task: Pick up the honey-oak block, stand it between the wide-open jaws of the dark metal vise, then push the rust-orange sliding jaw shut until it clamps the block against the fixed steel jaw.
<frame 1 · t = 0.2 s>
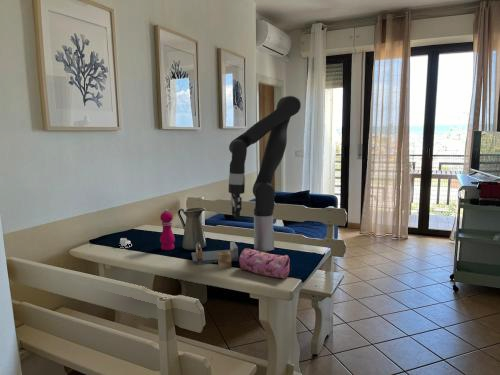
hand: (235, 216, 174), 17 cm above the table, tool pointing down, fingers open, 8 cm apart
pencil case: (264, 273, 150), on the table
sliding jaw: (199, 250, 166), point 4 cm above the table, slide at 0.0 cm
vise base: (214, 258, 168), on the table
white looped part: (130, 246, 189), on the table
oak block: (224, 266, 158), on the table
pepper mill: (167, 248, 183), on the table
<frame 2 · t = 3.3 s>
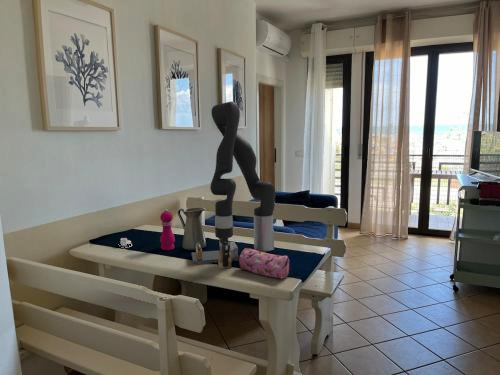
hand: (224, 263, 158), 1 cm above the table, tool pointing down, fingers closed on oak block, 5 cm apart
oak block: (224, 266, 158), on the table, touching gripper
everything else where it was.
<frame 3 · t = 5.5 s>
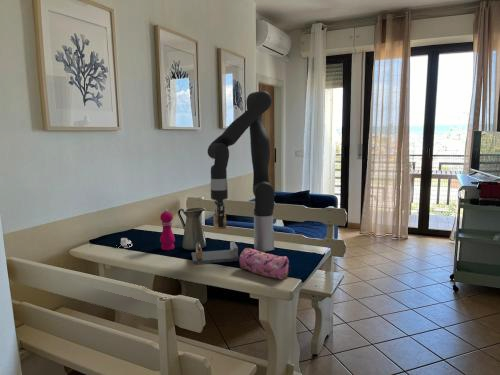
hand: (220, 225, 166), 15 cm above the table, tool pointing down, fingers closed on oak block, 5 cm apart
oak block: (219, 227, 166), point 14 cm above the table, touching gripper
everything else where it was.
when the fingers open (4 cm above the table, at t = 7.7 s): oak block drops 1 cm, resting on vise base.
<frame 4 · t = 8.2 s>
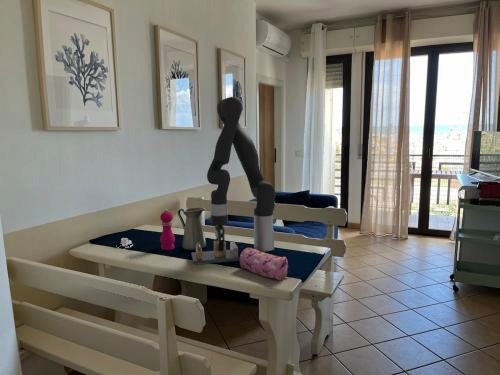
hand: (219, 248, 168), 5 cm above the table, tool pointing down, fingers open, 8 cm apart
oak block: (219, 254, 168), point 1 cm above the table, touching vise base
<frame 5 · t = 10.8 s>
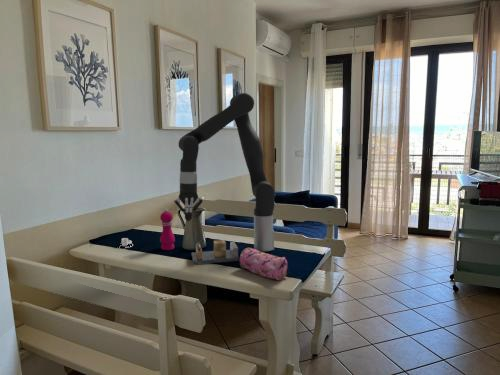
hand: (188, 220, 164), 18 cm above the table, tool pointing down, fingers closed
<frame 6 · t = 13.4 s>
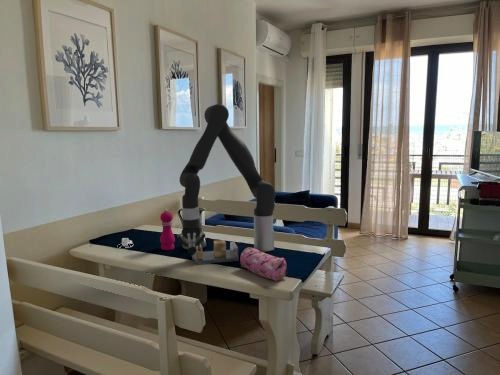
hand: (192, 254, 166), 2 cm above the table, tool pointing down, fingers closed
sliding jaw: (199, 250, 166), point 4 cm above the table, slide at 0.2 cm, touching gripper
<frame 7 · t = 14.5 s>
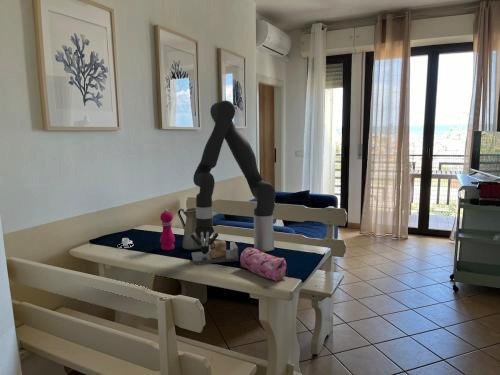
hand: (204, 253, 167), 2 cm above the table, tool pointing down, fingers closed
sliding jaw: (212, 249, 167), point 4 cm above the table, slide at 6.0 cm, touching gripper, oak block
oak block: (220, 254, 168), point 1 cm above the table, touching sliding jaw, vise base
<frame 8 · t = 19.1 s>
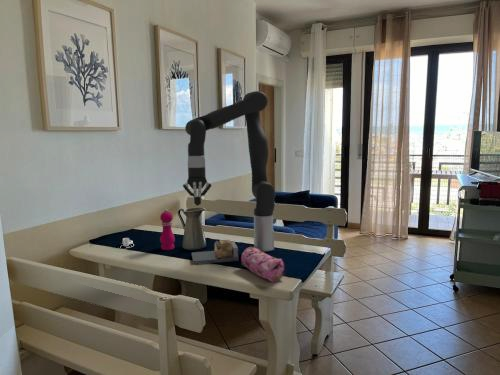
hand: (197, 205, 163), 25 cm above the table, tool pointing down, fingers closed
sliding jaw: (218, 248, 168), point 4 cm above the table, slide at 8.6 cm
oak block: (225, 254, 169), point 1 cm above the table, touching vise base
at the end: sliding jaw slide at 8.6 cm; oak block 0.5 cm from the target spot on the vise base, point 1.5 cm above the vise base's base; oak block tilted 0° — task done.
